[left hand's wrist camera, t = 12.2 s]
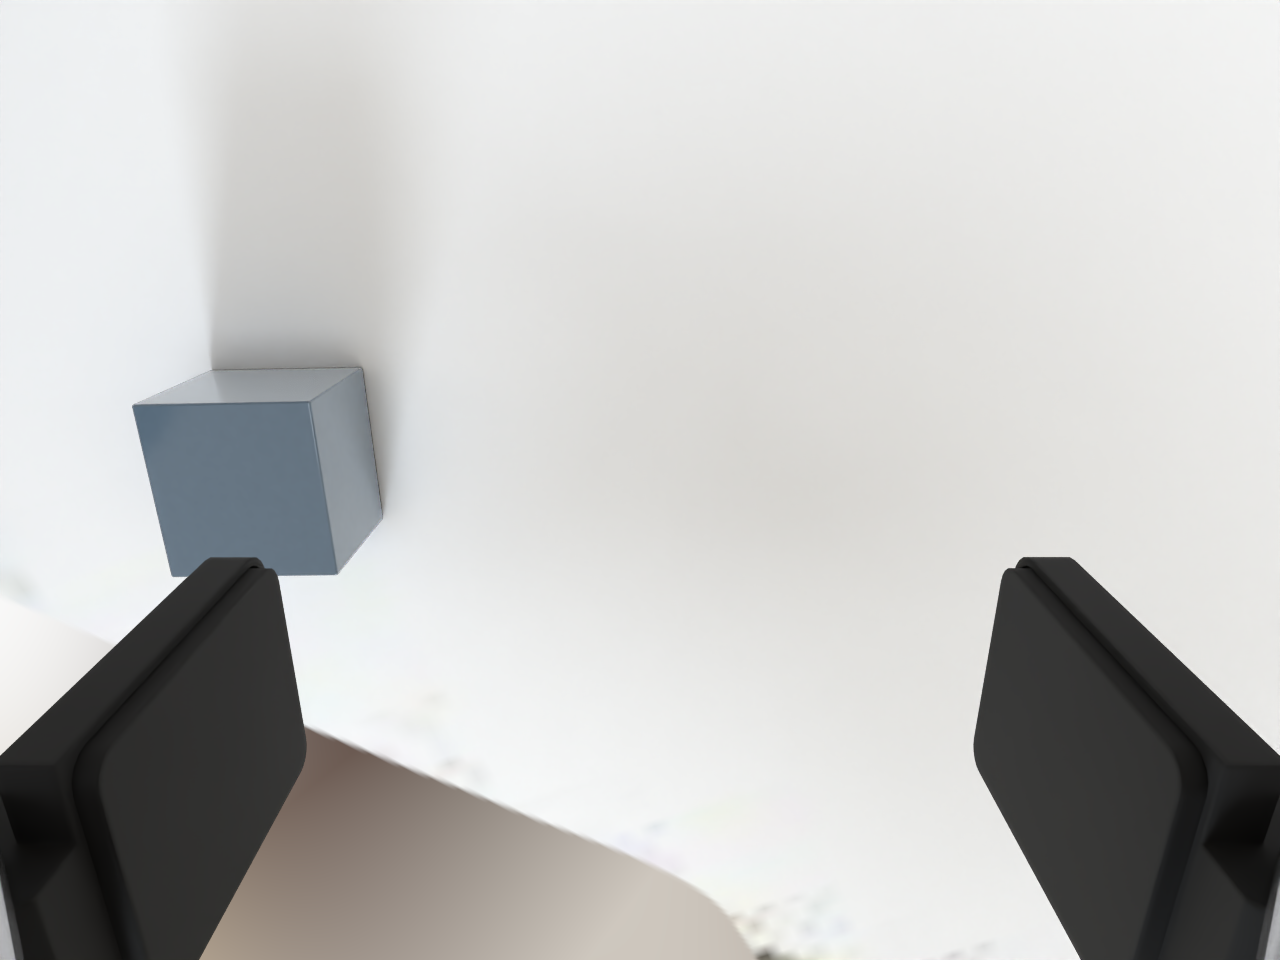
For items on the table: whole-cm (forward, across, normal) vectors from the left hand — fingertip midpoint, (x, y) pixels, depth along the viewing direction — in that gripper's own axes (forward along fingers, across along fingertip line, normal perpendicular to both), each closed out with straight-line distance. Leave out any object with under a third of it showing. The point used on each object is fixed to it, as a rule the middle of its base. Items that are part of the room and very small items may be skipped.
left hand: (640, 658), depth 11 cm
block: (+16, -10, -2) cm, 19 cm away
